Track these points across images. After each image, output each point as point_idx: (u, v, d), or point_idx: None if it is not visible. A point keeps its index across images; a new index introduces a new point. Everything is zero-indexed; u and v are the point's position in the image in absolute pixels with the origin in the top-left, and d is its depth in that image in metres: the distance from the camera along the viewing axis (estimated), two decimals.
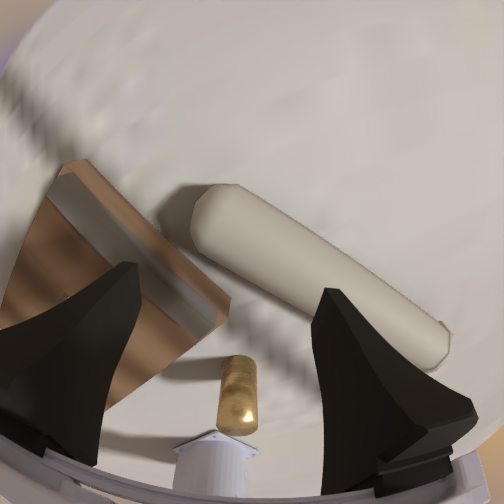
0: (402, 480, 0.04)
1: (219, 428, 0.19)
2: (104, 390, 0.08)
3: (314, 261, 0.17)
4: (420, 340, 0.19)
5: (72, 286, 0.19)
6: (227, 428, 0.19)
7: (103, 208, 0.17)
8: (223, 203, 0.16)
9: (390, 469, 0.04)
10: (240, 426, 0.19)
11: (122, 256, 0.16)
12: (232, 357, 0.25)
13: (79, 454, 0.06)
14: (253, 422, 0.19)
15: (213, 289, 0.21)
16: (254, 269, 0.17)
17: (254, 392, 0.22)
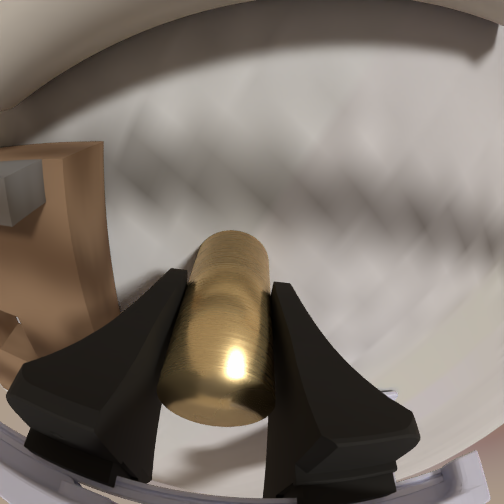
0: (327, 494, 0.04)
1: (192, 419, 0.07)
2: (158, 404, 0.08)
3: None
4: None
5: None
6: (204, 414, 0.07)
7: None
8: None
9: (310, 481, 0.04)
10: (221, 400, 0.07)
11: None
12: (199, 249, 0.12)
13: None
14: (236, 378, 0.06)
15: (59, 146, 0.09)
16: (11, 42, 0.04)
17: (240, 291, 0.09)
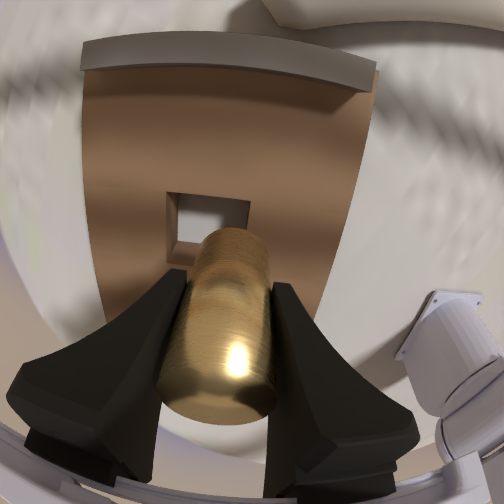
0: (327, 494, 0.04)
1: (191, 416, 0.07)
2: (158, 403, 0.08)
3: None
4: None
5: (171, 172, 0.15)
6: (204, 412, 0.07)
7: None
8: None
9: (310, 481, 0.04)
10: (222, 398, 0.07)
11: (213, 42, 0.10)
12: (200, 245, 0.12)
13: None
14: (239, 376, 0.06)
15: None
16: None
17: (242, 288, 0.09)
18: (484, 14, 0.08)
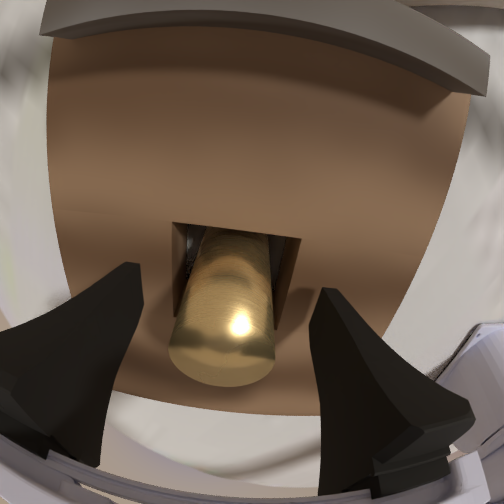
0: (398, 481, 0.04)
1: (197, 378, 0.09)
2: (107, 391, 0.08)
3: None
4: None
5: (180, 192, 0.10)
6: (209, 372, 0.08)
7: None
8: None
9: (386, 470, 0.04)
10: (227, 355, 0.08)
11: None
12: (206, 230, 0.14)
13: (82, 455, 0.06)
14: (242, 330, 0.07)
15: None
16: None
17: (244, 261, 0.10)
18: None
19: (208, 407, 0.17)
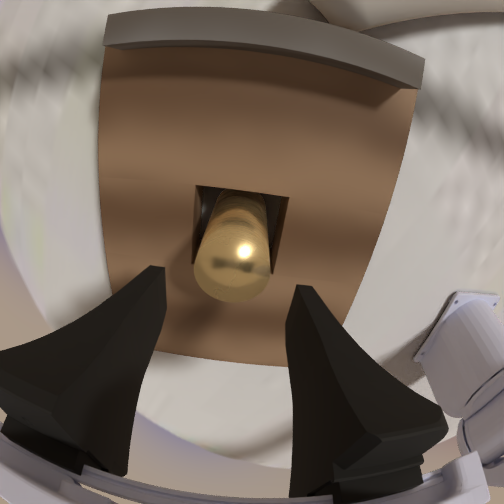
0: (362, 489, 0.04)
1: (213, 294, 0.13)
2: (134, 398, 0.08)
3: None
4: None
5: (202, 163, 0.14)
6: (222, 287, 0.12)
7: None
8: None
9: (347, 477, 0.04)
10: (236, 270, 0.12)
11: (261, 22, 0.08)
12: (217, 198, 0.17)
13: (111, 465, 0.06)
14: (247, 247, 0.11)
15: None
16: None
17: (248, 211, 0.14)
18: None
19: (214, 357, 0.21)
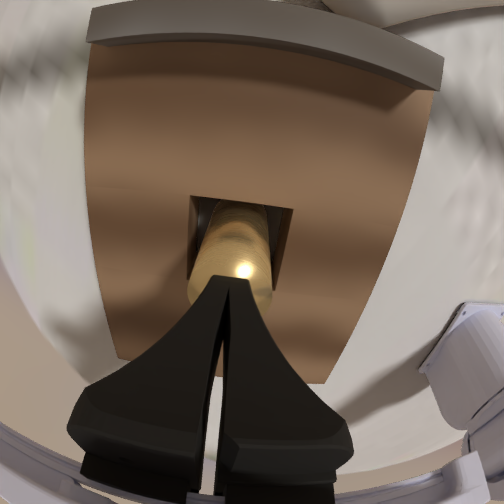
0: (253, 498, 0.04)
1: None
2: (208, 412, 0.08)
3: None
4: None
5: (197, 171, 0.12)
6: None
7: None
8: None
9: (233, 481, 0.04)
10: None
11: (262, 12, 0.07)
12: (215, 207, 0.16)
13: None
14: (246, 268, 0.10)
15: None
16: None
17: (248, 225, 0.13)
18: None
19: None
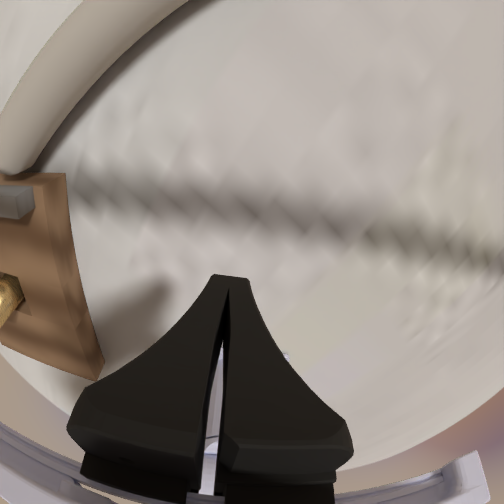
0: (253, 497, 0.04)
1: None
2: (208, 412, 0.08)
3: (24, 73, 0.10)
4: None
5: None
6: None
7: None
8: None
9: (232, 481, 0.04)
10: None
11: None
12: None
13: None
14: None
15: (42, 176, 0.17)
16: (19, 129, 0.12)
17: (2, 285, 0.18)
18: (121, 22, 0.10)
19: (38, 360, 0.25)
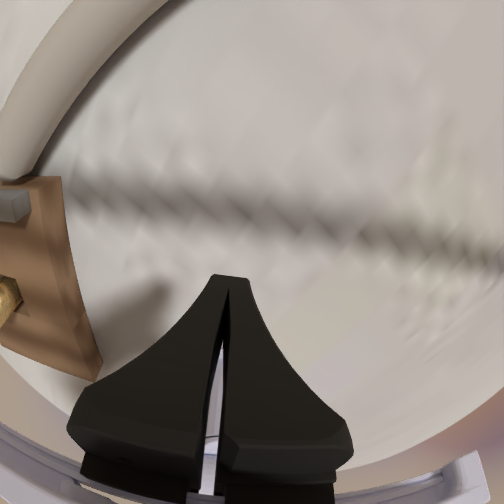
0: (253, 498, 0.04)
1: None
2: (208, 412, 0.08)
3: (17, 79, 0.10)
4: None
5: None
6: None
7: None
8: None
9: (233, 481, 0.04)
10: None
11: None
12: None
13: None
14: None
15: (38, 180, 0.17)
16: (15, 134, 0.12)
17: (0, 287, 0.19)
18: (108, 21, 0.10)
19: (38, 361, 0.25)
